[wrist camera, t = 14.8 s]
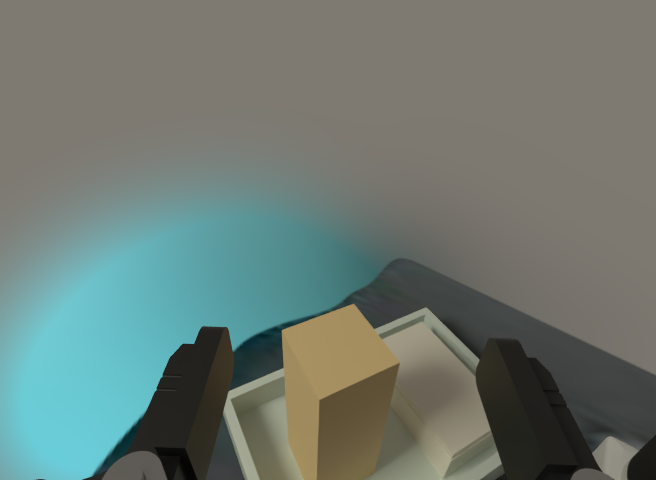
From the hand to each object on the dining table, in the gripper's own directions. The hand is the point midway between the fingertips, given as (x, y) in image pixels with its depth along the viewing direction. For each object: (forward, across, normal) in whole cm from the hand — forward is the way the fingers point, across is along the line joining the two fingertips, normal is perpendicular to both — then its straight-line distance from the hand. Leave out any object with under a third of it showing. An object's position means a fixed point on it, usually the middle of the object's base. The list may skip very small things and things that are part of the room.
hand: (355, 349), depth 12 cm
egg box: (+14, -9, +25) cm, 30 cm away
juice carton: (+8, 0, +25) cm, 26 cm away
